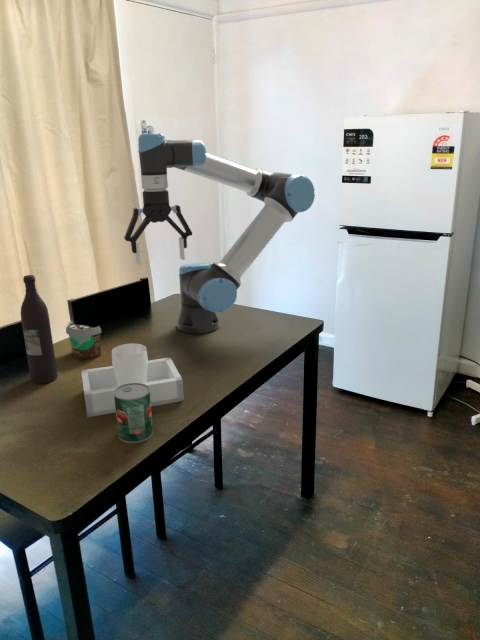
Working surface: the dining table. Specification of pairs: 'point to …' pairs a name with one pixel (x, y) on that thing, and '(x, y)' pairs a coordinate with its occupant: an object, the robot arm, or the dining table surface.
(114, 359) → the cup
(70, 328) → the food container
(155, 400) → the bin
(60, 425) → the dining table surface
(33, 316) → the wine bottle
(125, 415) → the canned tomato
